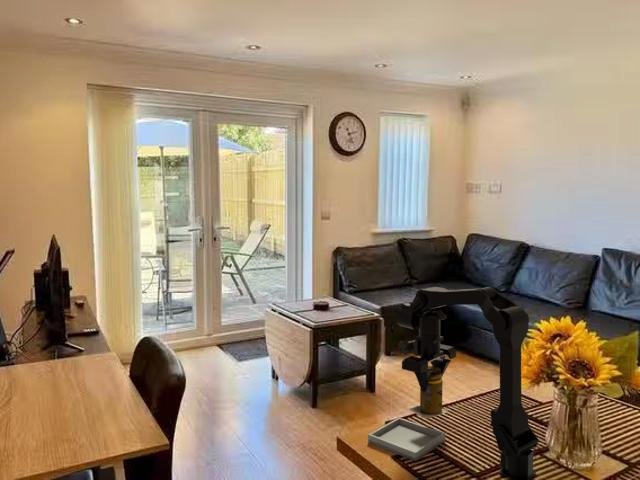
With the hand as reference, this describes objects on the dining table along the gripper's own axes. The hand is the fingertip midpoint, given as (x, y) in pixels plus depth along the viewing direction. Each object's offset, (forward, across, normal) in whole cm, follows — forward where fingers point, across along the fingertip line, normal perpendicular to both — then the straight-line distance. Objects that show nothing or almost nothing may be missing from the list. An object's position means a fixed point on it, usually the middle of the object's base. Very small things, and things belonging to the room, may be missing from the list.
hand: (429, 388), depth 149 cm
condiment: (+7, +1, 0) cm, 7 cm away
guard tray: (+13, +9, -2) cm, 16 cm away
